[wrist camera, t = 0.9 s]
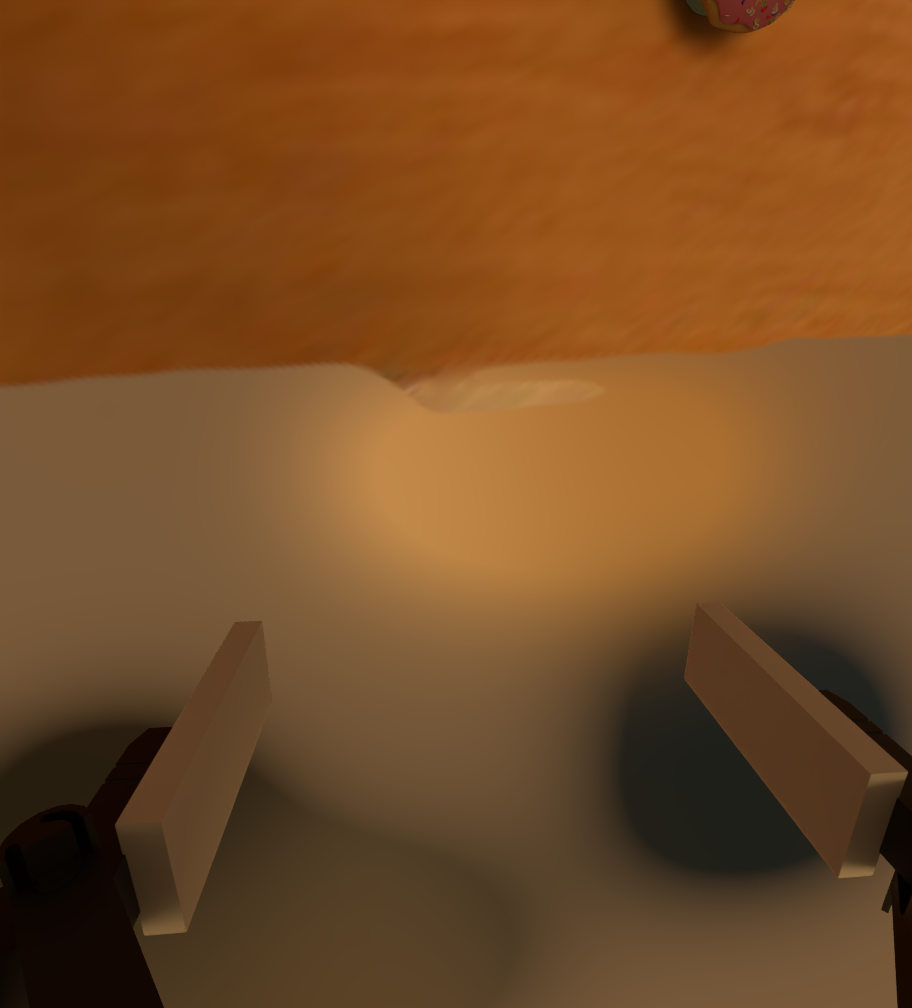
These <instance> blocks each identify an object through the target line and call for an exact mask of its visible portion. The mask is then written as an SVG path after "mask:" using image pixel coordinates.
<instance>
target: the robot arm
mask: <svg viewBox="0 0 912 1008" xmlns="http://www.w3.org/2000/svg"><path fill="white" fill-rule="evenodd" d="M684 679H685V680H686V682H687V683H688V684H689V685H690V687H691V688H692V689H693V691H694V692H695V693H696V695H697V696H698V697H699V698H700V700H701V701H702V702H703V704H704V705H705V706H706V707H707V709H708V710H709V711H710V713H711V714H712V715H713V717H714V718H715V719H716V720H717V722H718V723H719V724H720V726H721V727H722V728H723V730H724V731H725V732H726V733H727V735H728V736H729V737H730V739H731V740H732V741H733V743H734V744H735V745H736V746H737V748H738V749H739V750H740V751H741V753H742V754H743V755H744V757H745V758H746V759H747V761H748V762H749V763H750V764H751V766H752V767H753V768H754V770H755V771H756V772H757V774H758V775H759V776H760V778H761V779H762V780H763V781H764V783H765V784H766V785H767V787H768V788H769V789H770V790H771V792H772V793H773V794H774V796H775V797H776V798H777V799H778V801H779V802H780V803H781V805H782V806H783V807H784V809H785V810H786V811H787V813H789V815H790V816H791V818H792V819H793V820H794V822H795V823H796V824H797V825H798V827H799V828H800V829H801V831H802V832H803V833H804V835H805V836H806V837H807V838H808V840H809V841H810V842H811V843H812V845H813V846H814V848H815V849H816V850H817V851H818V853H819V854H820V855H821V857H822V858H823V859H824V860H825V862H826V863H827V864H828V866H829V867H830V868H831V869H832V871H833V872H834V873H835V875H836V876H837V877H838V878H844V877H845V878H846V877H857V876H870V875H873V873H874V870H875V867H876V864H877V861H878V858H879V855H880V853H881V854H882V855H883V856H884V858H885V859H886V860H887V861H888V862H889V863H890V864H891V865H892V866H893V868H894V869H895V872H894V875H893V878H892V880H891V883H890V886H889V889H888V892H887V894H886V897H885V900H884V903H883V906H882V910H883V911H885V912H887V913H888V912H889V909H890V907H891V905H892V911H893V931H894V949H895V968H896V986H897V1004H898V1008H912V756H911V755H910V754H908V753H907V752H906V751H905V750H904V749H903V748H902V747H900V746H899V745H898V744H897V743H896V742H895V741H894V740H892V739H891V738H890V737H889V736H888V735H887V734H883V732H882V730H881V729H880V728H878V727H877V726H876V725H875V724H874V723H872V722H871V721H870V722H869V721H868V718H867V717H866V716H865V715H863V714H862V713H861V712H860V711H859V710H858V709H856V708H855V707H854V706H853V705H852V704H851V703H849V702H847V701H846V700H844V699H842V698H840V697H838V696H837V695H835V694H833V693H831V692H830V691H828V690H817V689H816V688H815V687H814V686H812V685H811V684H810V683H809V682H808V681H807V680H806V679H805V678H803V677H802V676H801V675H800V674H799V673H798V672H797V671H796V670H794V668H792V667H791V666H790V665H789V664H788V663H787V662H786V661H785V660H783V659H782V658H781V657H780V656H779V655H778V654H777V653H776V652H775V651H773V650H772V649H771V648H770V647H769V646H768V645H767V644H766V643H765V642H763V641H762V640H761V639H760V638H759V637H758V636H757V635H756V634H754V632H752V631H751V630H750V629H749V628H748V627H747V626H746V625H744V624H743V623H742V622H741V621H740V620H739V619H738V618H737V617H736V616H735V615H733V614H732V613H731V612H730V611H729V610H728V609H727V608H726V607H725V606H723V605H722V604H721V603H697V604H696V609H695V615H694V622H693V627H692V634H691V640H690V646H689V653H688V659H687V665H686V670H685V677H684ZM271 702H272V694H271V687H270V679H269V672H268V664H267V657H266V648H265V641H264V633H263V626H262V621H249V622H235V623H234V624H233V626H232V628H231V630H230V631H229V633H228V634H227V636H226V638H225V640H224V641H223V643H222V645H221V646H220V648H219V650H218V652H217V653H216V655H215V657H214V658H213V660H212V662H211V663H210V665H209V667H208V668H207V670H206V672H205V673H204V675H203V677H202V678H201V680H200V682H199V683H198V685H197V687H196V689H195V690H194V692H193V694H192V695H191V697H190V699H189V700H188V702H187V704H186V706H185V708H184V709H183V711H182V712H181V714H180V716H179V718H178V719H177V721H176V722H175V724H174V726H173V727H162V728H149V729H147V730H146V731H145V732H144V733H143V734H141V735H140V736H139V737H138V738H137V739H135V740H134V741H133V742H132V743H131V744H129V746H128V747H127V748H126V750H125V752H124V753H123V754H122V756H121V757H120V759H119V760H118V762H117V763H116V767H115V768H113V769H112V771H111V772H110V774H109V775H108V777H107V778H106V780H105V784H102V786H101V787H100V789H99V790H98V792H97V793H96V795H95V796H94V798H93V799H92V801H91V802H90V804H89V805H88V807H87V808H86V807H85V806H80V805H75V804H68V805H61V806H56V807H53V808H51V809H48V810H45V811H43V812H40V813H38V814H36V815H35V816H33V817H31V818H30V819H28V820H26V821H25V822H23V823H21V824H20V825H19V826H18V827H17V828H16V829H15V830H14V831H12V832H11V833H10V834H9V835H8V836H7V837H6V838H5V840H4V841H3V843H2V844H1V846H0V879H1V882H2V884H3V887H1V888H0V1008H164V1007H163V1004H162V1002H161V999H160V996H159V994H158V991H157V989H156V986H155V984H154V981H153V979H152V976H151V973H150V971H149V968H148V966H147V964H146V961H145V958H144V956H143V953H142V950H141V948H140V946H139V943H138V941H137V938H136V935H135V933H134V930H133V926H134V924H135V922H136V920H137V918H138V916H139V917H140V921H141V925H142V928H143V932H144V935H157V934H169V933H181V932H187V929H188V927H189V924H190V921H191V918H192V916H193V913H194V910H195V907H196V905H197V902H198V899H199V897H200V894H201V891H202V889H203V886H204V883H205V880H206V878H207V875H208V872H209V870H210V867H211V864H212V862H213V859H214V856H215V853H216V851H217V848H218V845H219V843H220V840H221V837H222V834H223V832H224V829H225V826H226V823H227V821H228V818H229V815H230V813H231V810H232V807H233V805H234V802H235V799H236V796H237V794H238V791H239V788H240V786H241V783H242V780H243V778H244V775H245V772H246V769H247V767H248V764H249V761H250V759H251V756H252V753H253V750H254V748H255V745H256V742H257V739H258V737H259V734H260V732H261V729H262V726H263V723H264V721H265V718H266V715H267V713H268V710H269V707H270V704H271Z"/></svg>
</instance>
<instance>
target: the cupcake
mask: <svg viewBox="0 0 912 1008" xmlns="http://www.w3.org/2000/svg"><path fill="white" fill-rule="evenodd" d="M686 2H687V4H688V5H689V7H690V8H691V9H692V10H693V11H694V12H695V13H697V14H699V15H702V16H707V18H708V20H709V22H710V24H711V25H712V26H713V27H715V28H719V29H723V30H726V31H729V32H734V33H748V32H752V31H755V30H758V29H760V28H763V27H765V26H767V25H769V24H771V23H772V22H773V21H775V20H776V19H777V18H778V17H780V16H781V15H782V14H783V13H784V12H786V11H788V10H787V9H788V8H790V7H792V5H793V2H794V0H686ZM790 5H791V6H790Z"/></svg>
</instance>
